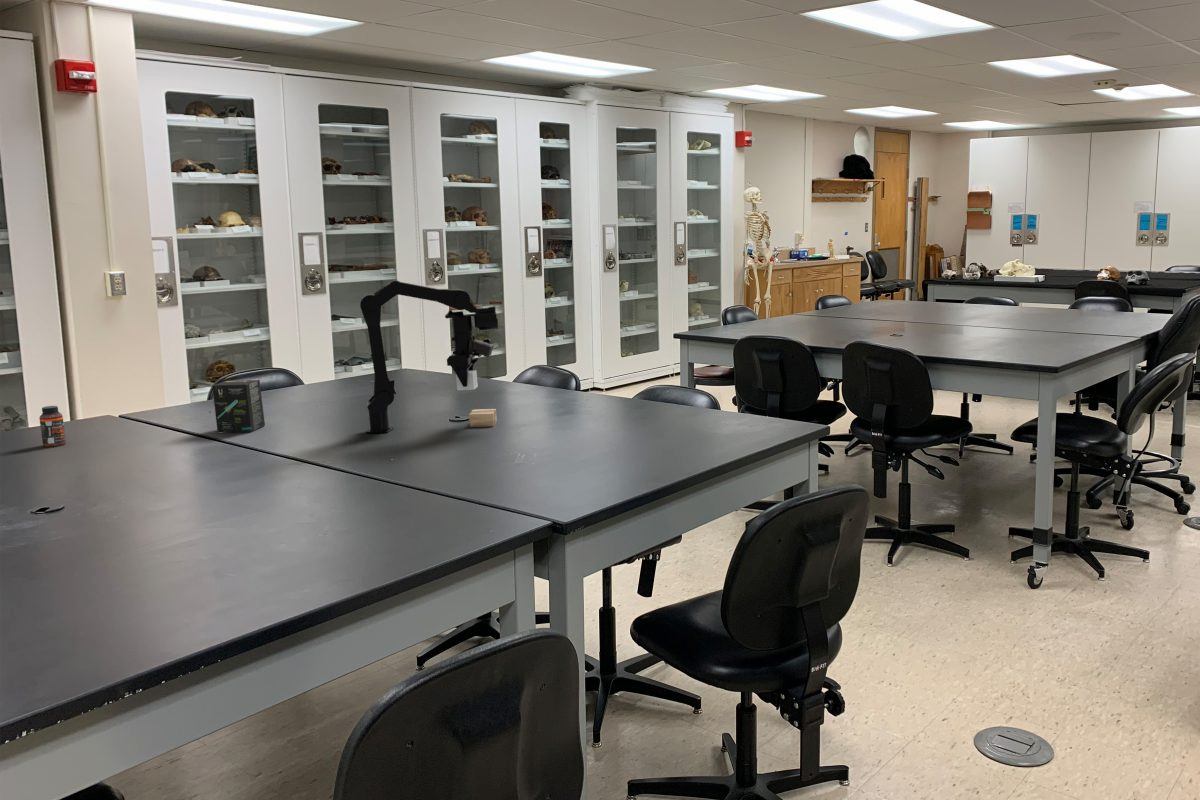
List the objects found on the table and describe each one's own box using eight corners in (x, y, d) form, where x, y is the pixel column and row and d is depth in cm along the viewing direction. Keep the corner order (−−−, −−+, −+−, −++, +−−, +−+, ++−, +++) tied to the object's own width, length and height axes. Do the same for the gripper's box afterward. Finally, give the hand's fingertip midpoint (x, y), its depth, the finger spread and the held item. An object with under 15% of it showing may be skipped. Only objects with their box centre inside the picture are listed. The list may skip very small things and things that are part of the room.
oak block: (493, 426, 283) (493, 413, 282) (470, 427, 283) (469, 414, 283) (496, 421, 290) (496, 408, 289) (473, 422, 290) (472, 409, 290)
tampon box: (265, 426, 296) (260, 378, 294) (252, 432, 287) (246, 384, 285) (231, 426, 298) (226, 379, 295) (216, 433, 289) (211, 384, 286)
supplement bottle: (56, 447, 277) (50, 408, 275) (38, 447, 278) (32, 408, 276) (71, 442, 283) (65, 404, 281) (53, 442, 284) (48, 404, 282)
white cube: (473, 389, 283) (472, 372, 282) (457, 390, 284) (455, 373, 283) (477, 386, 288) (476, 370, 287) (461, 387, 289) (459, 370, 288)
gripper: (482, 335, 273) (487, 389, 276) (496, 327, 291) (500, 378, 294) (444, 337, 274) (449, 391, 277) (460, 329, 292) (464, 380, 295)
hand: (467, 385), depth 286 cm, fingers closed on white cube, 5 cm apart
